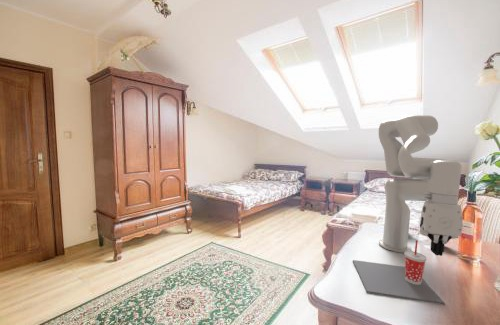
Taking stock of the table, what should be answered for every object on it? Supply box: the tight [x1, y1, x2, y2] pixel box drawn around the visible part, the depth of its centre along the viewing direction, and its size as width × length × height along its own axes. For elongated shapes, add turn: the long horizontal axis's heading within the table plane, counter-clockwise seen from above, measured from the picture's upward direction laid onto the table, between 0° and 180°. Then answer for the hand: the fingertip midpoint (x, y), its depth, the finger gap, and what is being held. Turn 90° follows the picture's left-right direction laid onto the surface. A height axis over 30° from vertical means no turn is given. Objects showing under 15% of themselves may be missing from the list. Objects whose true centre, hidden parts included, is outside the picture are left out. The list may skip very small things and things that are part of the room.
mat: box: [352, 259, 445, 306], centre depth 80 cm, size 20×21×1 cm
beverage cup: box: [403, 239, 428, 285], centre depth 78 cm, size 6×6×14 cm
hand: (436, 253), depth 76 cm, fingers closed
